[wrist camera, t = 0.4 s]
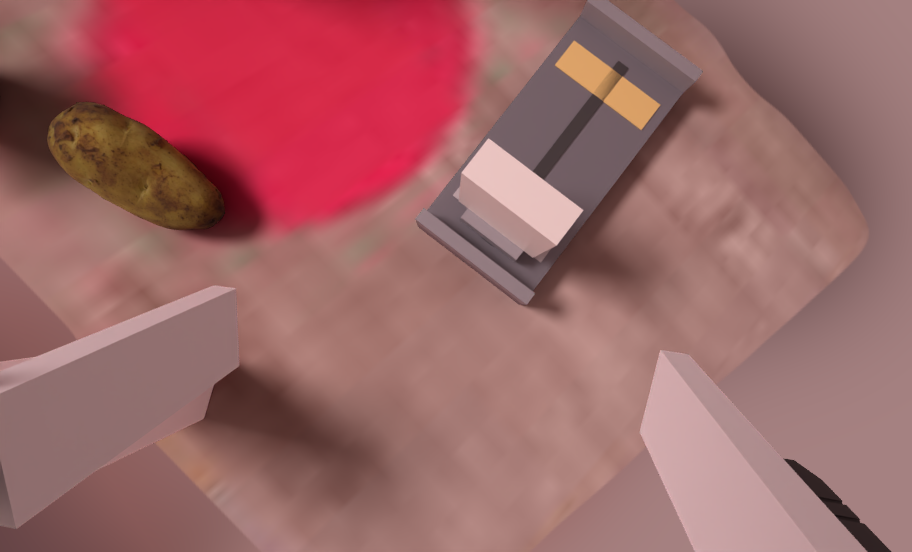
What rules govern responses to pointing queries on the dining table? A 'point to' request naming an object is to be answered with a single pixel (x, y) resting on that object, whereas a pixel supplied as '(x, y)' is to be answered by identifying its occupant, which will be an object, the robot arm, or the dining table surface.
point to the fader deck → (571, 133)
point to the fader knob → (513, 204)
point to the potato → (133, 167)
